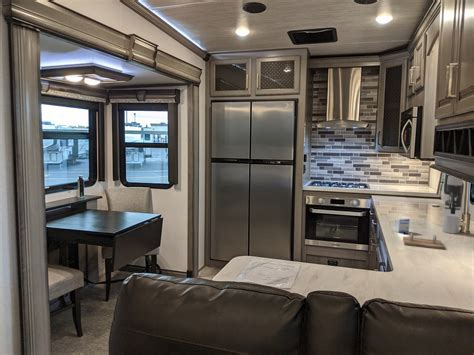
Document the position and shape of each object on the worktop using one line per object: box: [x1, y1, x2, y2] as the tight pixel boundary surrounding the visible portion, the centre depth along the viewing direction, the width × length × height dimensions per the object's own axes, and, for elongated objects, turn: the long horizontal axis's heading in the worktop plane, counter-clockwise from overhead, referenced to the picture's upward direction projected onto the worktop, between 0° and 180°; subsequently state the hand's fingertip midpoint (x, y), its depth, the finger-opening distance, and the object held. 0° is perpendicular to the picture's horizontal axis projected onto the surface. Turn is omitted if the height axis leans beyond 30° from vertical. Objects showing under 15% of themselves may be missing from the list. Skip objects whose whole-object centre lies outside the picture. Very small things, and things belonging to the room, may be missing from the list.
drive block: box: [442, 206, 462, 218], centre depth 216 cm, size 5×9×4 cm, turn 64°
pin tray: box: [402, 232, 445, 250], centre depth 214 cm, size 14×20×5 cm
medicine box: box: [393, 217, 411, 234], centre depth 240 cm, size 8×4×9 cm, turn 105°
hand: (451, 212), depth 216 cm, fingers closed on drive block, 5 cm apart
